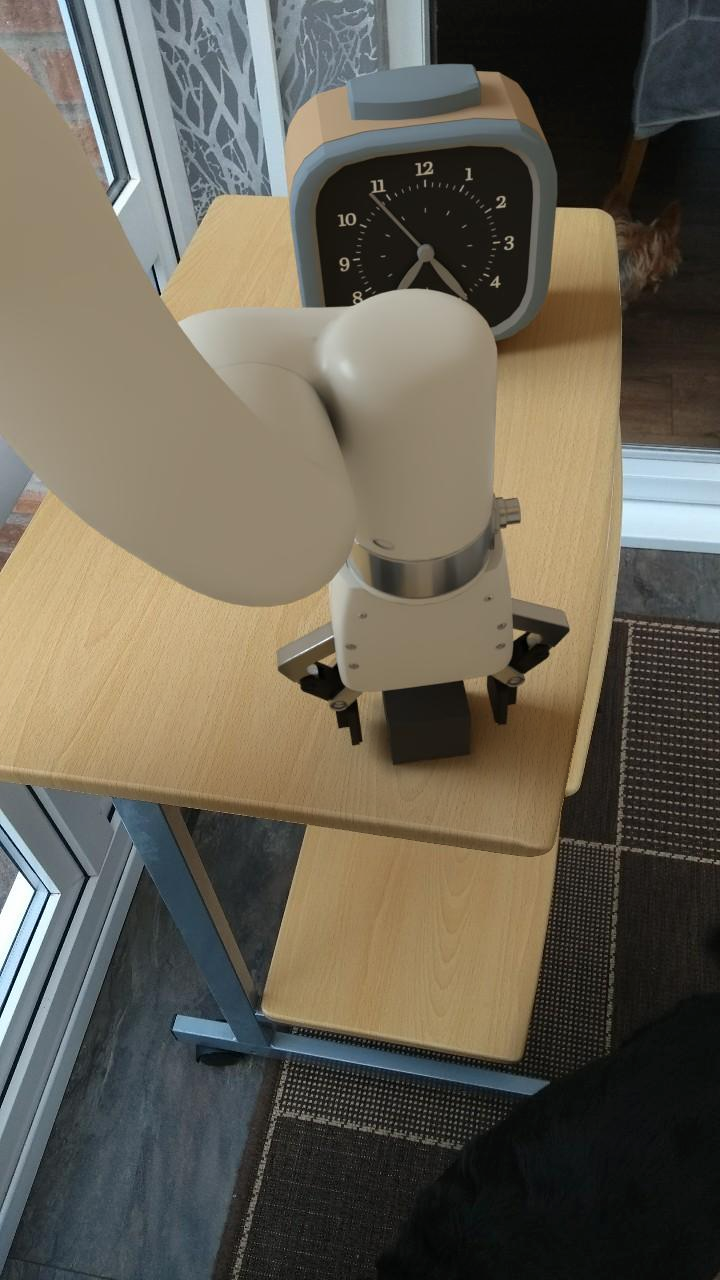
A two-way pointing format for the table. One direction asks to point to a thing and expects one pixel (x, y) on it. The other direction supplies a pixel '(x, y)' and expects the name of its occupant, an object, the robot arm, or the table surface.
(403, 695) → the black cube
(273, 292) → the table surface
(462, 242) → the alarm clock
